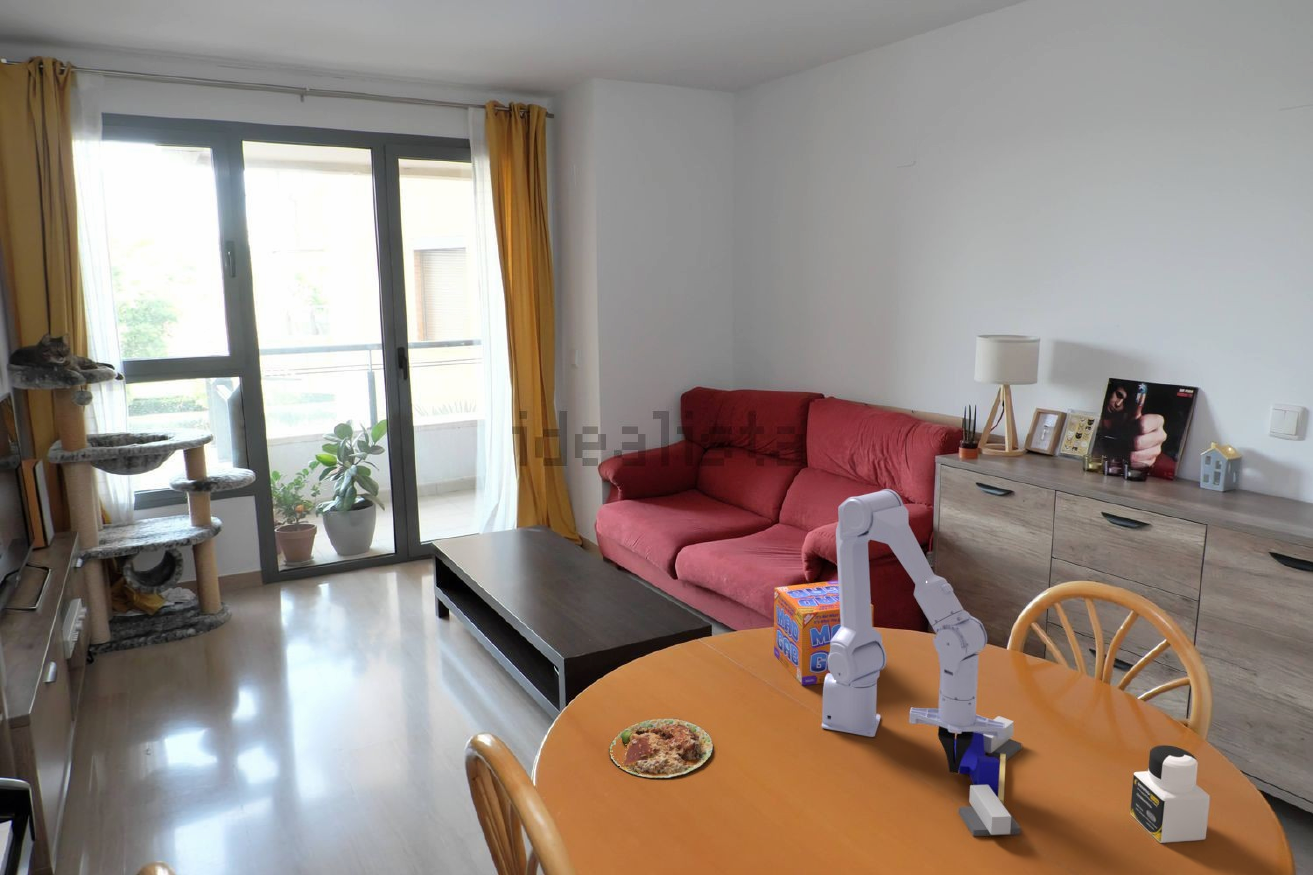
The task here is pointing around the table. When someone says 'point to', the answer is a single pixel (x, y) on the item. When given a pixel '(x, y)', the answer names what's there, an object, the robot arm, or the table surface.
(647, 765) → the food
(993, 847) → the table surface
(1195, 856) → the table surface
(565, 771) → the table surface
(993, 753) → the shaft rig
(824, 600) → the game box
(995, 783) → the blue piece
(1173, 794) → the medicine bottle
